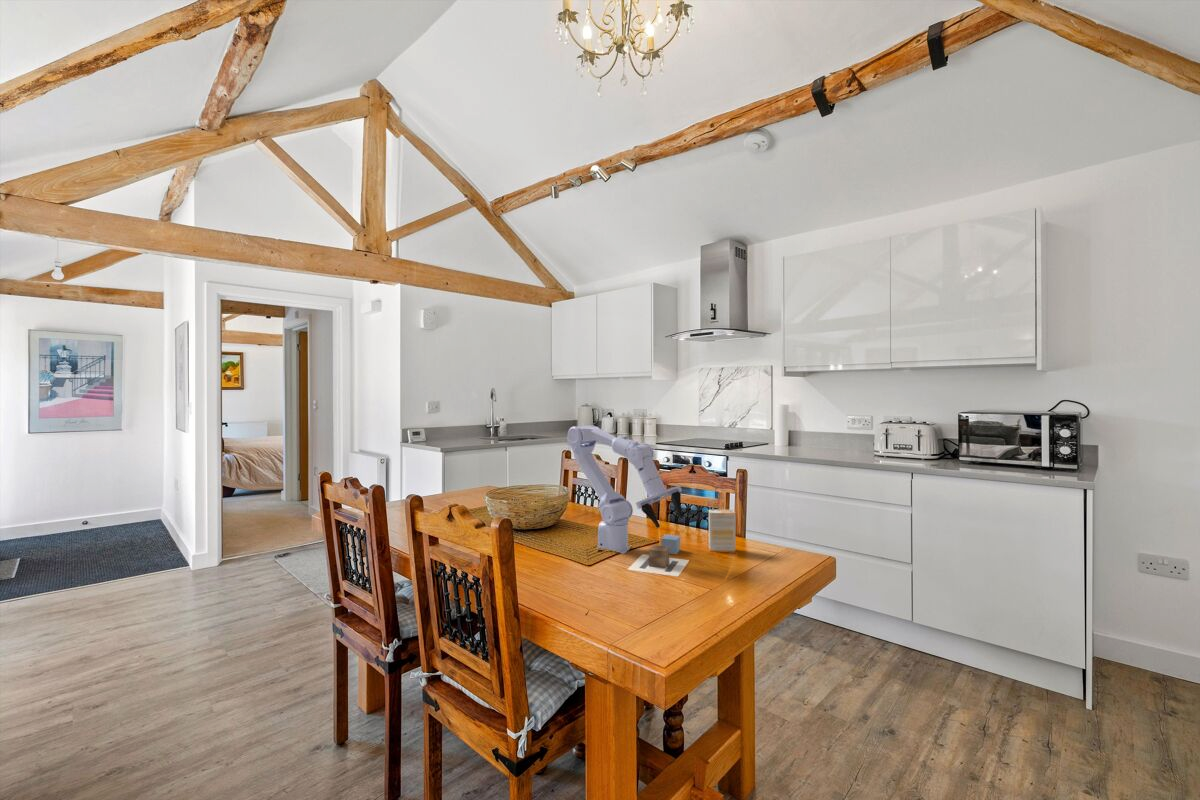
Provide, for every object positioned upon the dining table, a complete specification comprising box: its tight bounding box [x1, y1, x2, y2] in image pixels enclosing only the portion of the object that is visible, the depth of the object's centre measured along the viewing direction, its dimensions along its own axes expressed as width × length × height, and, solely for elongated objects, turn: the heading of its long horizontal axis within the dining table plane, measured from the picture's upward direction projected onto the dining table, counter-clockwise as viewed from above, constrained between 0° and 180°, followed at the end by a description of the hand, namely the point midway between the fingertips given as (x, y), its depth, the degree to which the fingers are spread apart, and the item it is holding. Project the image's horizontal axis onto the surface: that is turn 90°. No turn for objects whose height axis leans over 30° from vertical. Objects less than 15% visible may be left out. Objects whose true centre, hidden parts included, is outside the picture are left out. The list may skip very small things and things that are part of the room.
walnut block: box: [648, 544, 670, 568], centre depth 162 cm, size 5×5×5 cm
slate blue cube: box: [660, 533, 681, 555], centre depth 176 cm, size 5×5×5 cm
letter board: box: [627, 553, 690, 577], centre depth 163 cm, size 15×15×1 cm
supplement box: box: [708, 509, 737, 554], centre depth 177 cm, size 8×5×13 cm, turn 84°
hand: (670, 522), depth 164 cm, fingers open, 7 cm apart
